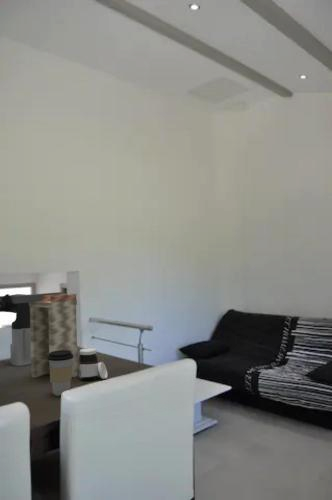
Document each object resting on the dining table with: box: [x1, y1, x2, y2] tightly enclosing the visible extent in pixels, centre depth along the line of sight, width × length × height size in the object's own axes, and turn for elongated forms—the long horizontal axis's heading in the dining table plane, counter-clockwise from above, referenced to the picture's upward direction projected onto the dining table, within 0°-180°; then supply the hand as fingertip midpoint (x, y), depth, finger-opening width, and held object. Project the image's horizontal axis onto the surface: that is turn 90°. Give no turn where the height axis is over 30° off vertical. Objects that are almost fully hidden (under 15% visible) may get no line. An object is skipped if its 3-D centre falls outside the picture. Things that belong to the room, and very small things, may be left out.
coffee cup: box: [47, 350, 74, 397], centre depth 157 cm, size 9×9×15 cm
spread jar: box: [78, 347, 108, 381], centre depth 176 cm, size 12×11×12 cm
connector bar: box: [12, 291, 64, 304], centre depth 181 cm, size 21×3×3 cm, turn 129°
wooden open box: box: [29, 293, 79, 383], centre depth 181 cm, size 13×16×34 cm
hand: (3, 295), depth 169 cm, fingers open, 8 cm apart
